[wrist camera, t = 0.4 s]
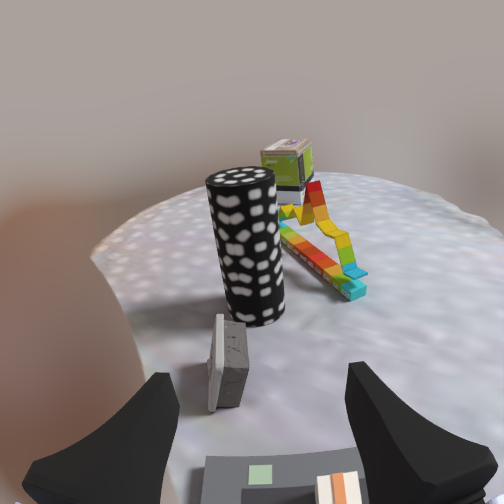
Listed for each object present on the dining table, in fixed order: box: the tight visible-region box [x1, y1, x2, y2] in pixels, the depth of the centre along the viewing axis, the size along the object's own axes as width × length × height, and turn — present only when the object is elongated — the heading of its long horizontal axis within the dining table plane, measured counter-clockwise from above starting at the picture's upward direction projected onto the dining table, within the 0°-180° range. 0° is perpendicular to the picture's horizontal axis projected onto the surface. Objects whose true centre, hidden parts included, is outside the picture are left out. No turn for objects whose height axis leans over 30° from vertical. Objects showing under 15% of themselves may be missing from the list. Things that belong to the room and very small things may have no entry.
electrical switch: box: [207, 314, 249, 412], centre depth 34 cm, size 8×5×8 cm, turn 4°
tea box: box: [260, 139, 314, 205], centre depth 86 cm, size 15×10×15 cm
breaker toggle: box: [315, 471, 362, 504], centre depth 18 cm, size 4×3×4 cm
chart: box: [278, 180, 368, 302], centre depth 56 cm, size 30×3×15 cm, turn 23°
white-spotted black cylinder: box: [205, 166, 285, 327], centre depth 43 cm, size 8×8×20 cm
